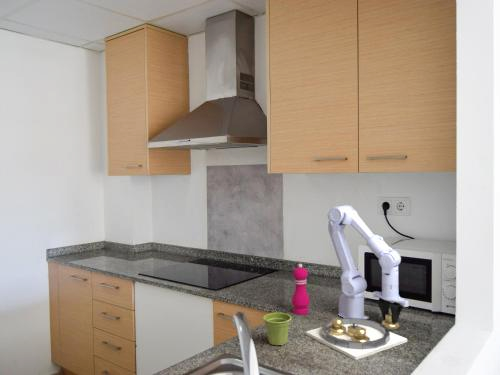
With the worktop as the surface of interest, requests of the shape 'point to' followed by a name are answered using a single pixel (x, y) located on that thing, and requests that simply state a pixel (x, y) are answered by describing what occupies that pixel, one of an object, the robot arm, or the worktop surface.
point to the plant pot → (277, 327)
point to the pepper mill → (300, 291)
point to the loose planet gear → (389, 322)
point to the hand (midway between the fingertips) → (390, 321)
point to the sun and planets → (353, 330)
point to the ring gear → (357, 344)
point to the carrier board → (352, 353)
